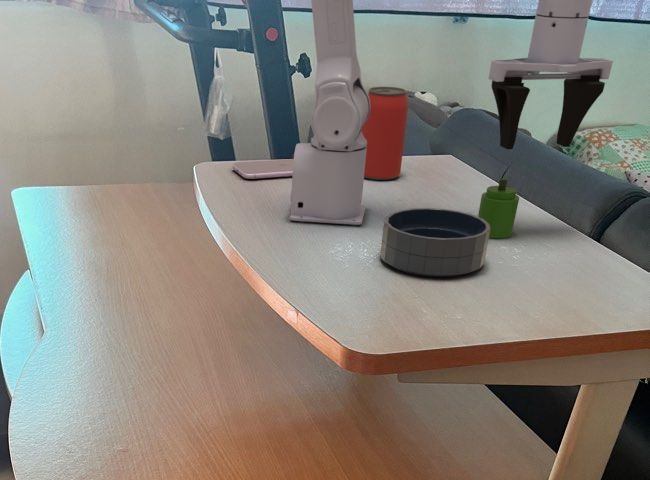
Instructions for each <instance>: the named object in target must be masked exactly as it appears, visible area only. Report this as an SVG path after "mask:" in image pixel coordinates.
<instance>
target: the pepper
mask: <svg viewBox="0 0 650 480" xmlns="http://www.w3.org/2000/svg"><path fill="white" fill-rule="evenodd" d="M507 185H508V178H504V177H503V178H500V179H499V182H498V185H491V186H488V187H486V191H485V192H483V193H482V194H481V196H480V203H479V208H478V214H477V217H480V218H482V219H484V220H485V221H486V222H488V223H489V224H490V235H489V239H495V240H498V239H507V238H510V237H512V235H513V231H514V225H515V220H516V215H517V212H518V206H519V202H520V197H519V195H517V189H516V188H514V187H511V186H507Z"/></svg>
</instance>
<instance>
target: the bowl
mask: <svg viewBox="0 0 650 480" xmlns="http://www.w3.org/2000/svg"><path fill="white" fill-rule="evenodd" d="M489 235H490V224H489V223H488V222H486V221H485V220H484V219H482V218H480V217H478V215H475V214H473V213H472V214H471V213H467V212H464V211H459V210H453V209H447V208H438V207H437V208H435V207H434V208H433V207H418V208H417V207H414V208H407V209H399V210H396V211H394V212H390V213H388V214H387V215H386V216H385V217H384V219H383V227H382V236H381V237H382V238H381V244H380V245H381V246H380V253H379V257H380V258H381V259H382V261H383V262H384V263H386V264H388V265H389V266H391V267H393V268H394V269H396V270H398V271H401V272H404V273H407V274H410V275H415V276H421V277H427V278H452V277H459V276H463V275H466V274H470V273H472V272H475V271H478V270H480V269H482V267H483V265H484V264H485V260H486V255H487V250H488V246H489V239H490V238H489Z"/></svg>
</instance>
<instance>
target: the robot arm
mask: <svg viewBox="0 0 650 480" xmlns="http://www.w3.org/2000/svg"><path fill="white" fill-rule="evenodd" d="M310 2H311V11H312V22H313V32H314V43H315V53H316V71H315V79H314V80H315V81H314V89H315V90H314V91H315V101H314V104H313V107H312V111H311V115H310V127H311V131H312V133H313V136H312V137H311V138H310V140H311V141H310V142H306V143H305V142H303V143H301V142H300V143H299V142H298V143H296V145H295V149H294V153H293V159H294V161H293V176H291V177H292V178H291V181H292V182H291V190H290V215H289V220H290V221H292V222H307V223H309V222H310V223H323V224H336V225H337V224H339V225H354V226H355V225H356V226H360V225H362V224H363V219H364V214H365V210H366V206H365V205H364V204H362V202H363V191H364V180H365V178H364V172H365V161H366V150H367V140H366V139H365V138H364V136H363V134H362V131H361V130H362V127H363V126H364V125H365V123H366V121H367V120H368V117H369V114H370V99H369V96H368V92H367V90H366V89H365V87H364V84H363V81H362V76H361V75H362V73H361V66H360V61H359V58H358V54H357V42H356V41H357V40H356V27H355V26H356V25H355V13H354V11H355V10H354V0H310ZM592 4H593V0H538V1H537V7H536V13H535V18H534V22H533V27H532V32H531V37H530V42H529V43H530V44H529V48H528V53H527V57H521V58H520V57H519V58H510V59H494V60H491V62H490V67H489V74H488V80H490V81H491V90H492V93H493V97H494V100H495V104H496V108H497V115H498V122H499V146H500V147H502V148H503V149H505V150H513V149H514V146H515V143H516V140H517V134H518V129H519V125H520V120H521V116H522V112H523V110H524V107H525V104H526V101H527V99H528V96H529V94H530V92H531V89H530V88H529V87H527V86H524V85H525V82H523V81H533V80H534V81H537V80H538V81H539V80H541V81H542V80H563V98H562V99H563V100H562V109H561V115H560V120H559V124H558V128H557V133H556V144H557V145H559V146H560V147H564V148H570V146H571V144H572V142H573V140H574V138H575V136H576V134H577V131H578V130H579V127H580V126H581V124H582V122H583V120H584V118H585V117H586V115H587V113H588V112H589V110H590V109H591V108H592V106H593V105H594V103H595V102H596V101H597V100H598V98H599V97H600V96H601V95H602V94H603V93H604V90H605V86H606V82H604V81H600V80H609V79H610V76H611V70H612V66H613V63H614V60H612V59H608V58H605V57H603V58H600V57H599V58H597V57H595V58H594V57H593V58H592V57H580V56H581V53H582V48H583V43H584V39H585V35H586V30H587V26H588V22H589V17H590V13H591V8H592Z"/></svg>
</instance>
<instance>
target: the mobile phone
mask: <svg viewBox="0 0 650 480" xmlns="http://www.w3.org/2000/svg"><path fill="white" fill-rule="evenodd" d="M293 161H294V158H289V159H287V158H286V159H274V160H273V159H272V160H257V161H243V162H235V163H233V164H232V169H233V170H234V172H236V173H238V174H239V175H240V176H241V177H242V178H244V179H246V180H257V179H258V180H259V179H271V178H287V177H292V176H293Z"/></svg>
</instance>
